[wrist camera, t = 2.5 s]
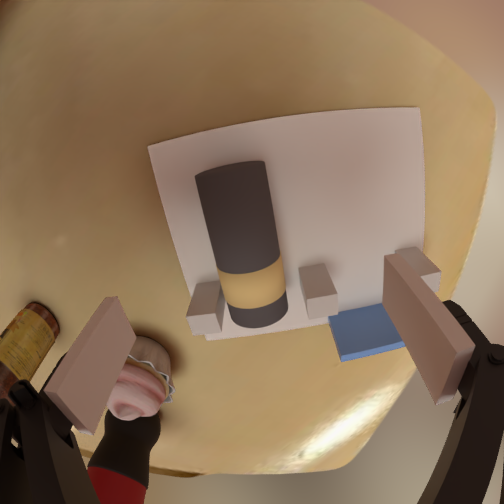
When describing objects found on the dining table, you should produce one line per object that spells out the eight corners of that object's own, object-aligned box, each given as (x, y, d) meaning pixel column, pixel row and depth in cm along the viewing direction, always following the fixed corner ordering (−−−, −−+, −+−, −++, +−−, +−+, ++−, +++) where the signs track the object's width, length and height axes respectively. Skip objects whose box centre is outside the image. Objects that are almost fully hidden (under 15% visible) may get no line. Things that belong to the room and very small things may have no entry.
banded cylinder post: (206, 168, 23) (182, 182, 18) (269, 157, 22) (260, 169, 17) (236, 294, 28) (223, 329, 23) (290, 290, 27) (286, 327, 22)
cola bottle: (109, 410, 39) (62, 565, 12) (115, 385, 36) (55, 570, 8) (157, 429, 40) (126, 587, 13) (170, 407, 37) (135, 596, 10)
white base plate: (150, 145, 22) (115, 156, 16) (415, 107, 21) (460, 109, 14) (207, 335, 31) (198, 383, 25) (414, 299, 29) (441, 338, 23)
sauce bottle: (27, 291, 29) (-61, 399, 11) (64, 317, 31) (-15, 441, 13) (25, 323, 32) (-46, 423, 14) (58, 346, 33) (-5, 457, 15)
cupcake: (180, 329, 31) (159, 403, 22) (184, 383, 35) (171, 449, 25) (103, 317, 30) (66, 380, 21) (117, 371, 34) (93, 430, 25)
